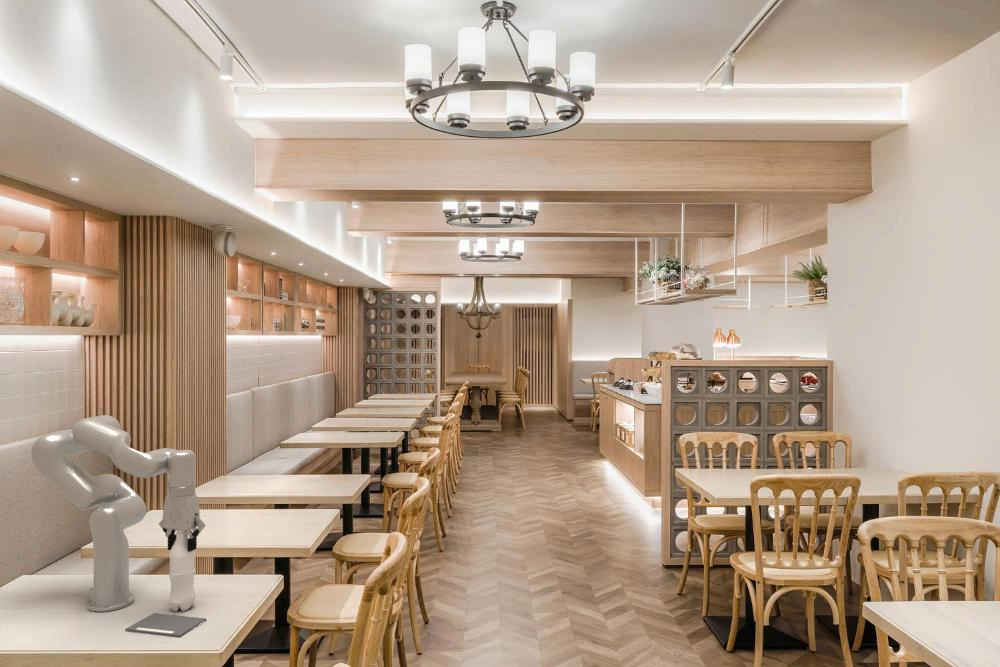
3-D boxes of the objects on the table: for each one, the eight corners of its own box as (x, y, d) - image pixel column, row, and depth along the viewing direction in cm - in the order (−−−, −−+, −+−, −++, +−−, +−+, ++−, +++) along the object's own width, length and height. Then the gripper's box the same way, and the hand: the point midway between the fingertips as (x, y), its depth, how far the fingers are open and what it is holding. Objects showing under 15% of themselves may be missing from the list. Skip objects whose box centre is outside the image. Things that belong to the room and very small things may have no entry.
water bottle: (184, 614, 197) (184, 530, 197) (164, 612, 199) (163, 529, 199) (200, 604, 204) (200, 524, 204) (180, 602, 206) (179, 522, 206)
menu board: (125, 631, 186) (125, 628, 186) (154, 614, 197) (154, 612, 197) (180, 637, 182) (180, 635, 182) (206, 620, 193) (206, 618, 193)
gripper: (148, 492, 200) (149, 551, 200) (198, 495, 196) (198, 555, 196) (166, 486, 207) (166, 543, 207) (214, 489, 203) (214, 547, 203)
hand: (182, 549), depth 201 cm, fingers closed on water bottle, 6 cm apart
